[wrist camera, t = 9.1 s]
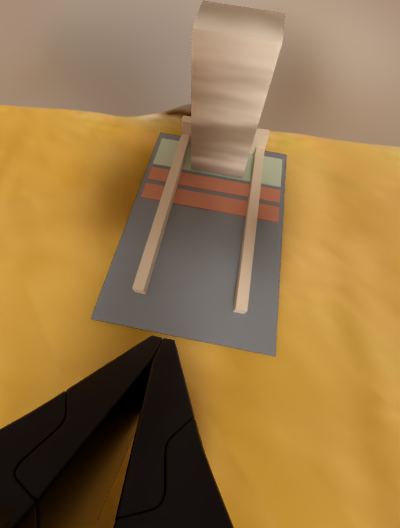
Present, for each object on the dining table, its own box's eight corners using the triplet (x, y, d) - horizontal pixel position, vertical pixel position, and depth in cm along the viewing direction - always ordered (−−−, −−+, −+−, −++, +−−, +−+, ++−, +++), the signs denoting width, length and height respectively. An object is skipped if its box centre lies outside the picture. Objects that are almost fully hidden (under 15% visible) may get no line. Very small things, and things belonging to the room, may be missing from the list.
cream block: (242, 178, 26) (282, 42, 15) (190, 168, 26) (191, 28, 15) (246, 153, 27) (284, 13, 16) (197, 144, 27) (202, 0, 16)
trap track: (274, 356, 19) (288, 356, 16) (92, 319, 20) (76, 312, 17) (285, 156, 28) (296, 134, 25) (160, 134, 29) (157, 111, 26)
